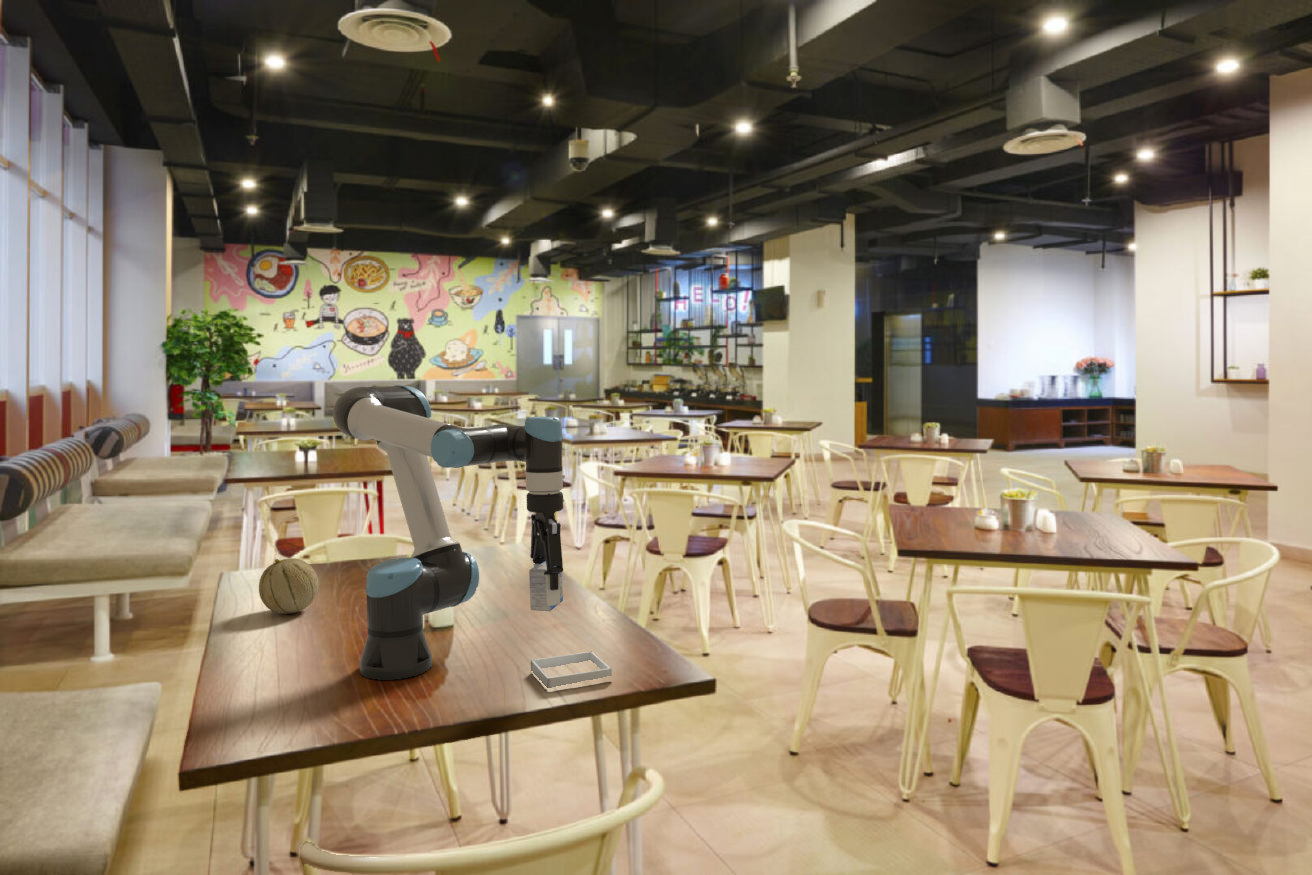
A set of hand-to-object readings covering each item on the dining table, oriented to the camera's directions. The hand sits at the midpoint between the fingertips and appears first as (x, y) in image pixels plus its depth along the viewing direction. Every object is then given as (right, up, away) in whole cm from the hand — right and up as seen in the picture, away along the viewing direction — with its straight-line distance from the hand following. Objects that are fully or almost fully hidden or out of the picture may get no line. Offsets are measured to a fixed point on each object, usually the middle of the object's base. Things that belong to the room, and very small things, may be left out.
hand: (546, 599), depth 178 cm
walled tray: (+5, -18, +4) cm, 19 cm away
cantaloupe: (-75, -13, +51) cm, 92 cm away
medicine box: (0, -2, 0) cm, 2 cm away
